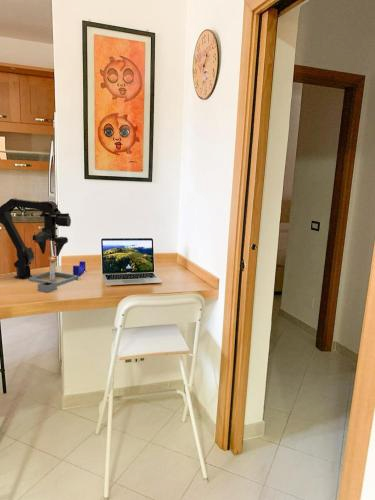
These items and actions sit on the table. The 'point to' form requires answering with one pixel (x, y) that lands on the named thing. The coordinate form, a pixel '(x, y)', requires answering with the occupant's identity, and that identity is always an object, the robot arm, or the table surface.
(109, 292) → the table surface
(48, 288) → the lock block
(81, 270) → the cable clip
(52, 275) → the lock pin
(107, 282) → the table surface
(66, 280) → the tray
